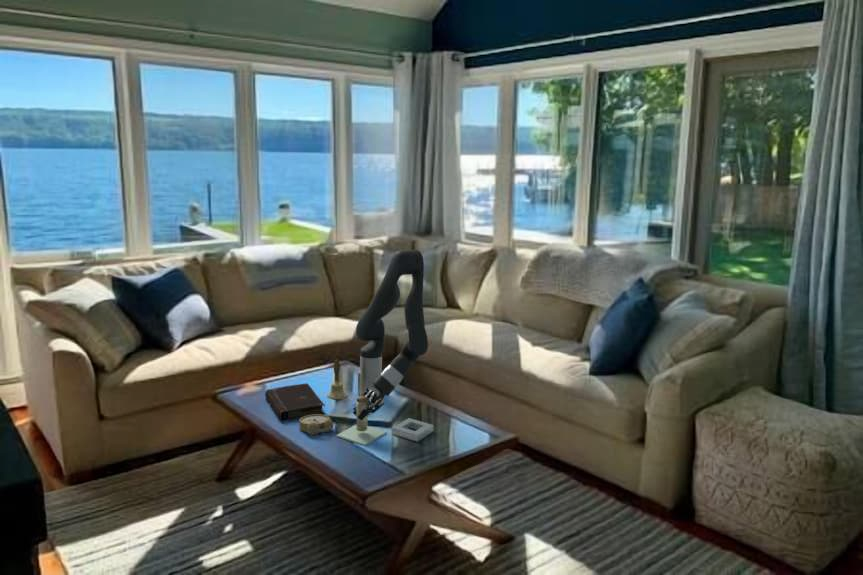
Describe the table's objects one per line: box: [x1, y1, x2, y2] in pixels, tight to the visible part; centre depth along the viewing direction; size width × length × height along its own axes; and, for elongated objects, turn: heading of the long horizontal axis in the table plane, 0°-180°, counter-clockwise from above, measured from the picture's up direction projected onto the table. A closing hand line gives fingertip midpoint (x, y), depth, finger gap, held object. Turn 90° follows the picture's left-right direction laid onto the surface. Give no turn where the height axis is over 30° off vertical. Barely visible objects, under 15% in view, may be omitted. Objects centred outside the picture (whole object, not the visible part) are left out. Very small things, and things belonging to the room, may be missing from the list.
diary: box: [264, 382, 326, 422], centre depth 258 cm, size 19×25×5 cm
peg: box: [355, 395, 369, 431], centre depth 233 cm, size 4×4×12 cm
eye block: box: [391, 417, 434, 442], centre depth 238 cm, size 11×11×2 cm
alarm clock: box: [299, 414, 334, 436], centre depth 238 cm, size 11×5×15 cm
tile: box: [336, 424, 388, 447], centre depth 235 cm, size 13×13×1 cm
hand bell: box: [326, 359, 348, 400], centre depth 270 cm, size 8×8×16 cm
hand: (357, 416), depth 232 cm, fingers closed on peg, 4 cm apart
